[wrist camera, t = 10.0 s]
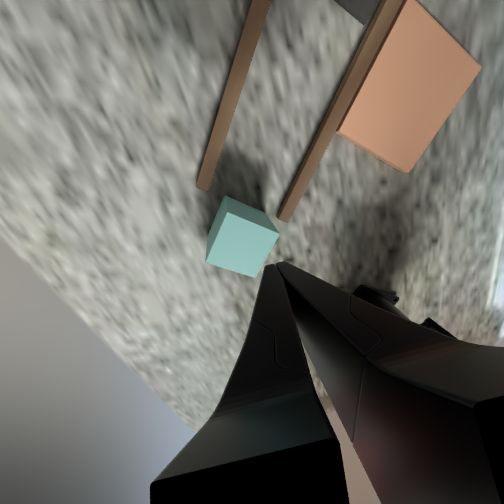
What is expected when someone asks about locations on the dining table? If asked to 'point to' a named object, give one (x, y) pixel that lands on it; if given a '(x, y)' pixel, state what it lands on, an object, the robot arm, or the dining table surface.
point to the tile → (408, 89)
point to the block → (240, 238)
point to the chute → (360, 7)
